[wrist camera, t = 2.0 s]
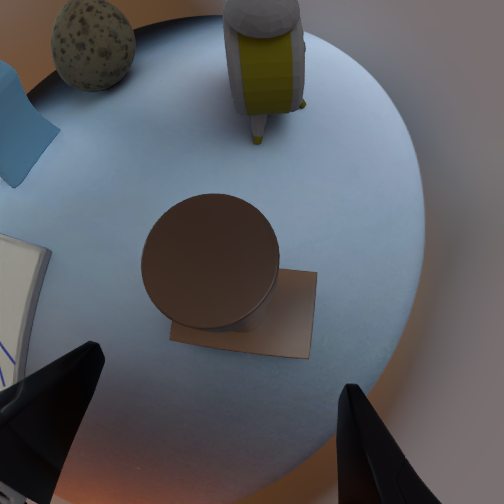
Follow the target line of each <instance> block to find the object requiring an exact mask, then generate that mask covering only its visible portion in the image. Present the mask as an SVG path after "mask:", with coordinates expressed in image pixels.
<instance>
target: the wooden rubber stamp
mask: <svg viewBox="0 0 504 504" xmlns="http://www.w3.org/2000/svg"><path fill="white" fill-rule="evenodd" d="M279 258H280V254H279V246H278V242H277V238H276V235H275V233H274V230H273V228H272V226H271V225H270V223H269V221H268V220H267V219H266V218H265V216H264V215H263V214H262V213H261V212H260V211H259V210H258V209H257V208H255V207H254V206H253V205H251V204H250V203H248V202H246V201H244V200H242V199H239V198H237V197H234V196H230V195H225V194H203V195H198V196H194V197H191V198H188V199H186V200H184V201H182V202H180V203H178V204H176V205H175V206H173V207H172V208H170V209H169V210H168V211H167V212H165V213H164V214H163V215H162V216H161V217H160V218H159V219H158V221H157V222H156V223H155V225H154V226H153V228H152V229H151V231H150V233H149V235H148V237H147V239H146V241H145V245H144V248H143V252H142V259H141V270H142V278H143V283H144V286H145V289H146V291H147V293H148V295H149V297H150V299H151V301H152V302H153V303H154V305H155V306H156V307H157V308H158V309H159V310H160V311H161V312H162V313H163V314H164V315H165V316H166V317H168V318H169V319H171V320H172V326H171V332H170V340H172V341H177V342H182V343H188V344H193V345H199V346H205V347H211V348H217V349H223V350H230V351H237V352H244V353H252V354H260V355H269V356H278V357H288V358H300V359H309V356H310V347H311V338H312V328H313V318H314V307H315V296H316V283H317V272H308V271H298V270H288V269H279Z"/></svg>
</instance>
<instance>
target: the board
mask: <svg viewBox="0 0 504 504" xmlns="http://www.w3.org/2000/svg"><path fill="white" fill-rule="evenodd" d="M51 253H52V252H51V250H49V249H47V248H44V247H41V246H38V245H35V244H32V243H28V242H25V241H22V240H19V239H16V238H13V237H10V236H7V235H4V234H1V233H0V391H2V390H4V389H6V388H8V387H10V386H12V385H14V384H15V383H17V382H19V381H21V380H23V379H24V373H25V364H26V357H27V351H28V344H29V339H30V333H31V328H32V323H33V318H34V314H35V310H36V305H37V301H38V297H39V293H40V290H41V286H42V282H43V279H44V275H45V272H46V269H47V265H48V262H49V259H50V256H51Z"/></svg>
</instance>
